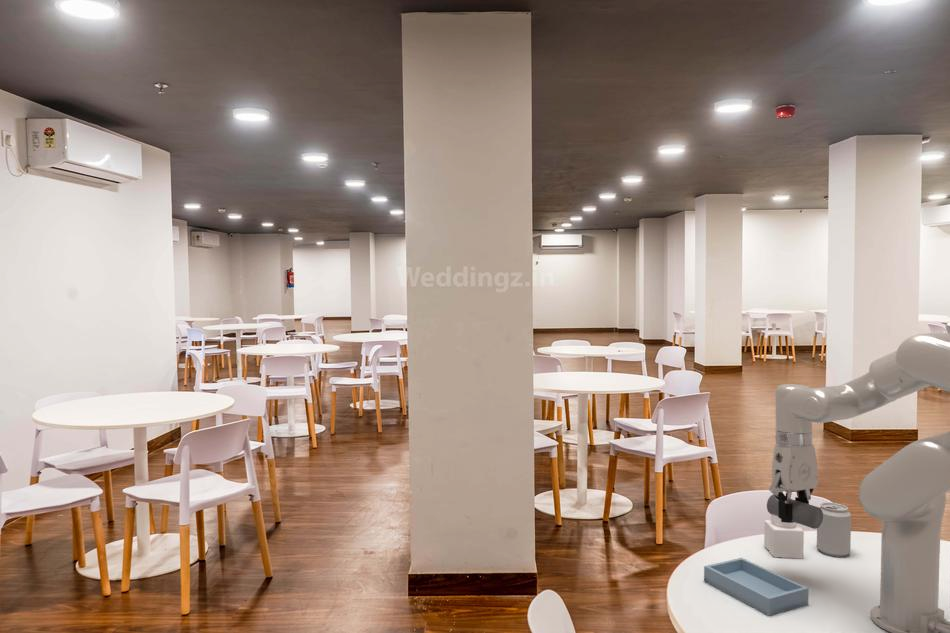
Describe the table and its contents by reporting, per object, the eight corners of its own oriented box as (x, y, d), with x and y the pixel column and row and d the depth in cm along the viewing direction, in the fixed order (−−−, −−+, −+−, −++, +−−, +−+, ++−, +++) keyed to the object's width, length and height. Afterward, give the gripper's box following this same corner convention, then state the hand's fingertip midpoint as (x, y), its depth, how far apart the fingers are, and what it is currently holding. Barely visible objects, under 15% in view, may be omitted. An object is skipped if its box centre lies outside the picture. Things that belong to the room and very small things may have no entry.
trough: (808, 604, 136) (808, 588, 136) (768, 615, 131) (769, 598, 131) (741, 572, 152) (741, 557, 151) (704, 581, 147) (704, 566, 147)
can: (809, 549, 166) (810, 503, 166) (829, 544, 169) (830, 499, 169) (837, 560, 159) (838, 511, 159) (857, 555, 162) (858, 507, 162)
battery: (822, 528, 144) (824, 507, 144) (807, 528, 142) (809, 506, 142) (776, 513, 155) (778, 493, 155) (762, 513, 153) (764, 492, 153)
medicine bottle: (792, 548, 167) (793, 502, 166) (803, 559, 160) (804, 511, 159) (763, 546, 167) (764, 500, 167) (773, 557, 160) (774, 509, 160)
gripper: (781, 445, 141) (781, 528, 141) (833, 438, 148) (833, 517, 148) (753, 439, 148) (753, 518, 148) (804, 432, 155) (804, 508, 155)
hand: (793, 517), depth 148 cm, fingers closed on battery, 4 cm apart
